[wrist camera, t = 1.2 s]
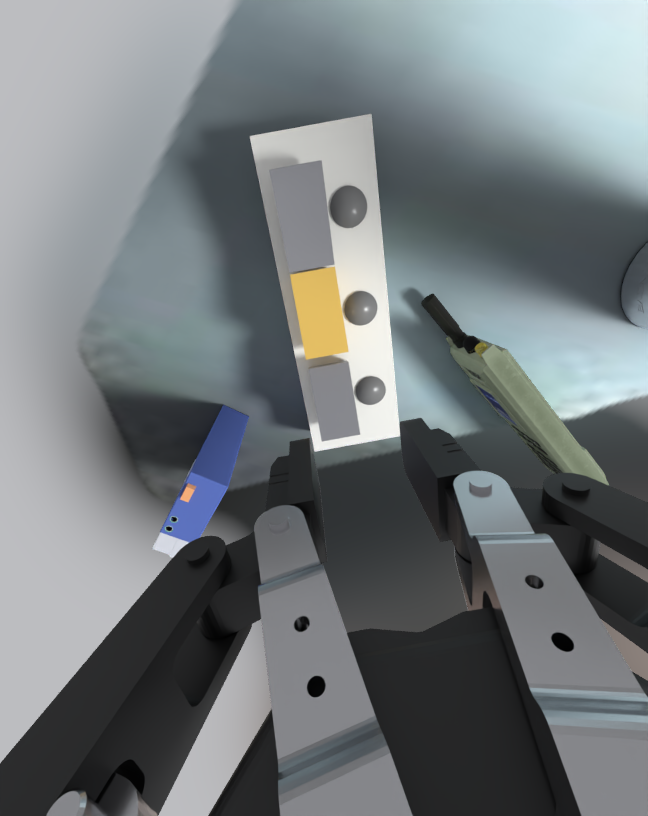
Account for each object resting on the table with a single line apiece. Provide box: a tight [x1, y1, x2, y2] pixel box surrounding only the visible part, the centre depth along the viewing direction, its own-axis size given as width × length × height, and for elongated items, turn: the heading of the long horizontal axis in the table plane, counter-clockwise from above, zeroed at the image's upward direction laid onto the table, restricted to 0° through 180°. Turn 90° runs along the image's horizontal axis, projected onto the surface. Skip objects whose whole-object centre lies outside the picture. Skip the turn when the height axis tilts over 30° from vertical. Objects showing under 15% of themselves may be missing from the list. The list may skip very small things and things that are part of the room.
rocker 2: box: [308, 360, 360, 441], centre depth 29 cm, size 3×6×2 cm, turn 9°
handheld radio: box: [421, 294, 608, 485], centre depth 33 cm, size 7×3×25 cm
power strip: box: [250, 114, 400, 451], centre depth 29 cm, size 8×24×4 cm, turn 9°
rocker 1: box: [290, 267, 349, 360], centre depth 26 cm, size 3×6×2 cm, turn 9°
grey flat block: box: [269, 160, 335, 273], centre depth 23 cm, size 3×6×2 cm, turn 9°
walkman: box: [152, 405, 249, 558], centre depth 30 cm, size 8×3×12 cm, turn 150°
